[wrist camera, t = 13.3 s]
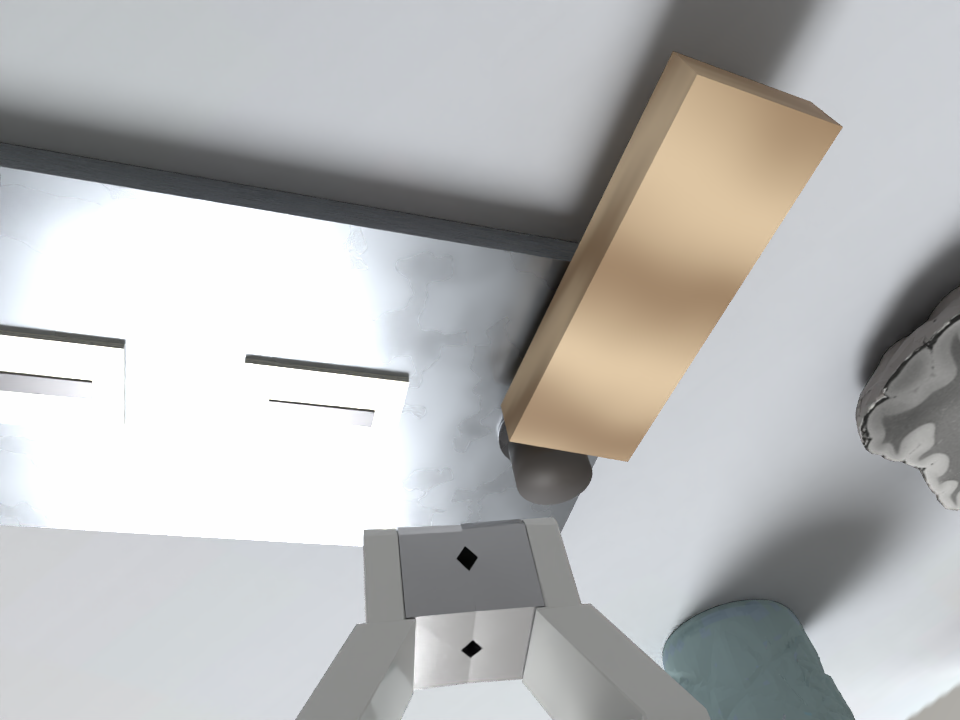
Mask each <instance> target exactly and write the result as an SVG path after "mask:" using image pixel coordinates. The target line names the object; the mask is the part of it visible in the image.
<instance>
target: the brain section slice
mask: <svg viewBox="0 0 960 720" xmlns="http://www.w3.org/2000/svg"><path fill="white" fill-rule="evenodd" d="M856 421H857V428H858V433H859V435H860V438H861V441H862V444H863V445H864V447H865V449H866V450H867V451H869V452H870V453H871V454H877V455H881V456H882V457H883V458H885V459H887V460H891V461H900V462H903V463H906V464H908V465H910V466H912V467H915V468H917V469H919V470H920V472H921V474H922V476H923V478H924V479H925V481H926V483H927V485H928V487H929V488H930V490H931V491H932V492H933V493H934V494H936V497H937V500H938V501H939V502H940V503H941V504H942V505H943V506H944V507H945V509H949V510H956V511H958V510H959V509H960V286H959V287H958V288H956V289H954V290H952V291H951V292H950V293H949V294H948V295H947V296H946V297H944V298H943V299H942V301H941V302H940V303H939V304H938V305H937V307H936V308H935V309H934V311H933V312H932V313H931V315H930V317H929V319H928V321H927V322H925V323H924V324H923V325H921V326H920V327H919V328H917V329H916V330H915V331H914V332H913V333H912V334H911V335H909V336H907V337H905V338H903V339H901V340H899V341H898V342H896V343H895V344H894V345H893V346H891V347H890V348H889V349H888V350H887V352H886V353H885V354H884V355H883V357H882V359H881V361H880V363H879V366H878V367H877V369H876V370H875V372H874V374H873V375H872V377H871V378H870V380H869V381H868V383H867V384H866V386H865V388H864V389H863V391H862V392H861V394H860V397H859V400H858V404H857V408H856Z"/></svg>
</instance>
